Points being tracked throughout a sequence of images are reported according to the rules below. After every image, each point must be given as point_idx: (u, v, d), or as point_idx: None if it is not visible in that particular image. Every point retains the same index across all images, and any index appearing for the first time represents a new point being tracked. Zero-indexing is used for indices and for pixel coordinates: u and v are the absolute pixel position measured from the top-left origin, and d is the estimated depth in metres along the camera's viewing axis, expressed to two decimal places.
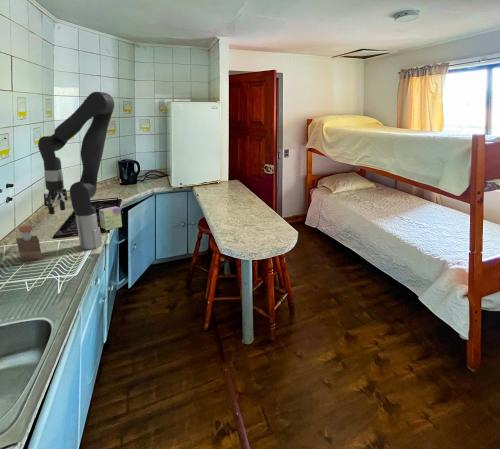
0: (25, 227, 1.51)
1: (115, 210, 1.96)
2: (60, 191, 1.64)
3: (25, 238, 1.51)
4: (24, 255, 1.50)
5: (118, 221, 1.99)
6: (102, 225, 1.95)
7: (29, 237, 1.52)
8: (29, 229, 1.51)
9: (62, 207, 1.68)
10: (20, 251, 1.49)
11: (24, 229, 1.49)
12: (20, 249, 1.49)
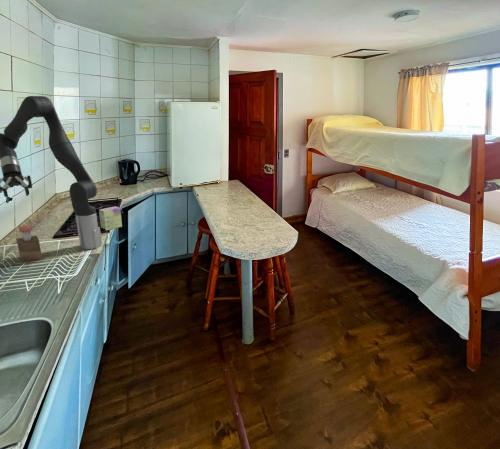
0: (25, 227, 1.51)
1: (115, 210, 1.96)
2: (18, 176, 1.61)
3: (25, 238, 1.51)
4: (24, 255, 1.50)
5: (118, 221, 1.99)
6: (102, 225, 1.95)
7: (29, 237, 1.52)
8: (29, 229, 1.51)
9: None
10: (20, 251, 1.49)
11: (24, 229, 1.49)
12: (20, 249, 1.49)
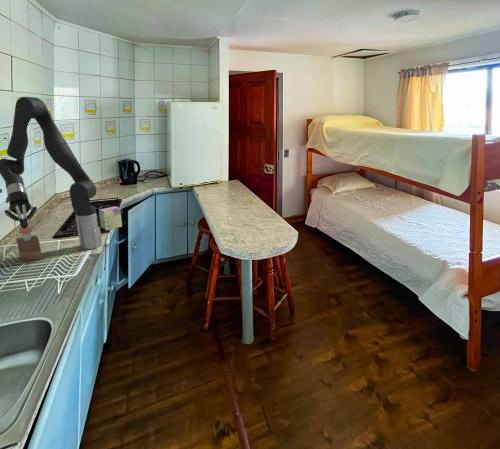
0: (26, 228, 1.51)
1: (115, 210, 1.96)
2: (26, 203, 1.55)
3: (25, 239, 1.51)
4: (24, 255, 1.50)
5: (118, 221, 1.99)
6: (102, 225, 1.95)
7: (29, 238, 1.52)
8: (29, 230, 1.51)
9: None
10: (20, 251, 1.49)
11: (24, 230, 1.49)
12: (20, 249, 1.49)
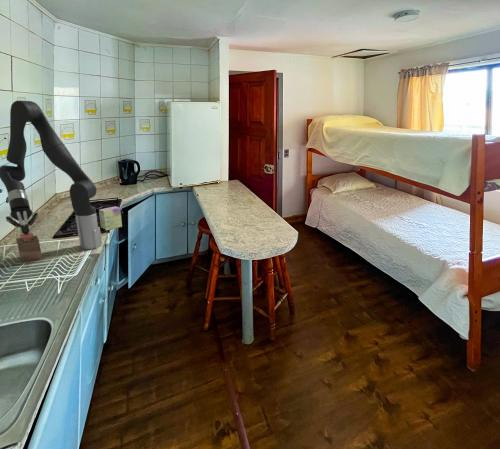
0: (27, 234, 1.52)
1: (115, 210, 1.96)
2: (27, 209, 1.56)
3: None
4: (24, 255, 1.50)
5: (118, 221, 1.99)
6: (102, 225, 1.95)
7: None
8: (30, 236, 1.52)
9: (25, 230, 1.52)
10: (20, 251, 1.49)
11: (25, 236, 1.50)
12: (20, 249, 1.49)
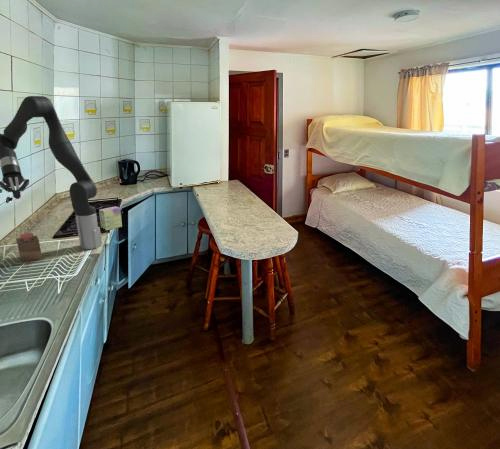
0: (27, 234, 1.52)
1: (115, 210, 1.96)
2: (19, 176, 1.62)
3: None
4: (24, 255, 1.50)
5: (118, 221, 1.99)
6: (102, 225, 1.95)
7: None
8: (30, 236, 1.52)
9: None
10: (20, 251, 1.49)
11: (25, 236, 1.50)
12: (20, 249, 1.49)
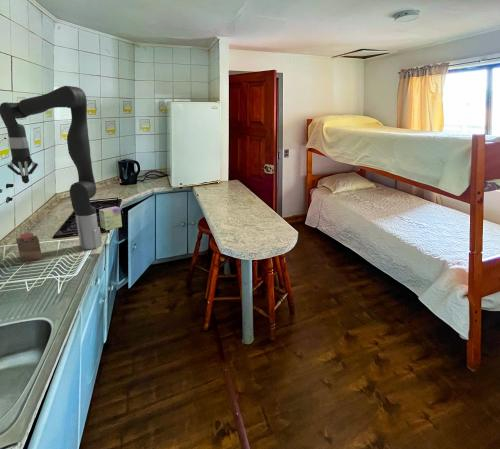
0: (27, 234, 1.52)
1: (115, 210, 1.96)
2: (28, 159, 1.63)
3: None
4: (24, 255, 1.50)
5: (118, 221, 1.99)
6: (102, 225, 1.95)
7: None
8: (30, 236, 1.52)
9: None
10: (20, 251, 1.49)
11: (25, 236, 1.50)
12: (20, 249, 1.49)
